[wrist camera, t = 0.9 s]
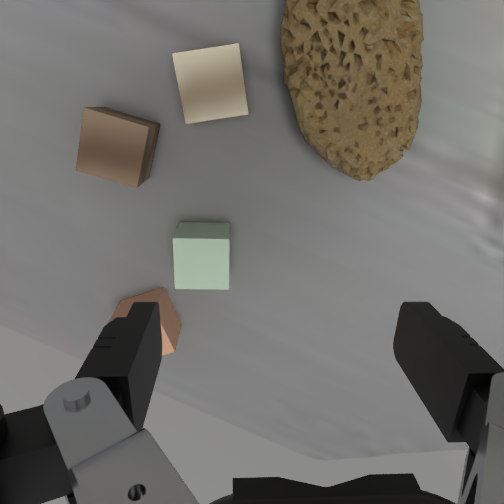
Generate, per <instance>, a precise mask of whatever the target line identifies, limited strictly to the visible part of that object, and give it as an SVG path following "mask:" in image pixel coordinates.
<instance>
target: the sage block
mask: <svg viewBox="0 0 504 504" xmlns="http://www.w3.org/2000/svg"><path fill="white" fill-rule="evenodd" d="M173 256H174V277H175V289H229V256H230V223H207V222H180V223H179V225H178V228H177V230H176V232H175V234H174V236H173Z"/></svg>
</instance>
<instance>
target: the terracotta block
mask: <svg viewBox="0 0 504 504" xmlns="http://www.w3.org/2000/svg"><path fill="white" fill-rule="evenodd" d="M134 302H158V303H159V309H160V321H161V334H162V356H163V355H166V354H169V353H173V352H175V350H176V346H177V341H178V337H179V333H180V329H181V323H180V321H179V319H178V317H177V314H176V312H175V310H174V308H173V306H172V304H171V302H170V299H169V297H168V295H167V293H166V291H165V289H164V287H162V288H159V289H156V290H153V291H150V292H147V293H144V294H141V295H137V296H134V297H131V298H128V299H125V300H122V301H120V303H119V305H118V306H117V308H116V310H115V312H114V313H113V315H112V317H111V319H110V320H109V322H108V323H110V322H111V321H112V320H113V319H115V318H116V317H126V316H127V314H128V312H129V310H130V308H131V306H132V304H133V303H134Z"/></svg>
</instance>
